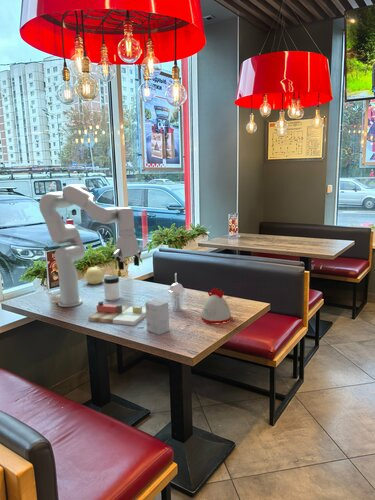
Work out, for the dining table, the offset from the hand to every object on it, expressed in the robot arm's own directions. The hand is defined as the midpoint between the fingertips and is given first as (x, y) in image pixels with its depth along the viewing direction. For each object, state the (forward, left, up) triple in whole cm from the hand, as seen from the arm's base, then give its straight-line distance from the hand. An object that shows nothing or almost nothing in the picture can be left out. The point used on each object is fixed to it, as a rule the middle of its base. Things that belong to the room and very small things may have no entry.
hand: (129, 267), depth 191 cm
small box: (+23, -20, -23) cm, 38 cm away
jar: (-20, +17, -23) cm, 35 cm away
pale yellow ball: (-47, +43, -23) cm, 68 cm away
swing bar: (-9, -8, -20) cm, 24 cm away
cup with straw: (+22, +7, -23) cm, 32 cm away
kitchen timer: (+44, 0, -23) cm, 49 cm away
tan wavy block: (-8, -8, -23) cm, 25 cm away
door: (+4, -8, -23) cm, 24 cm away
